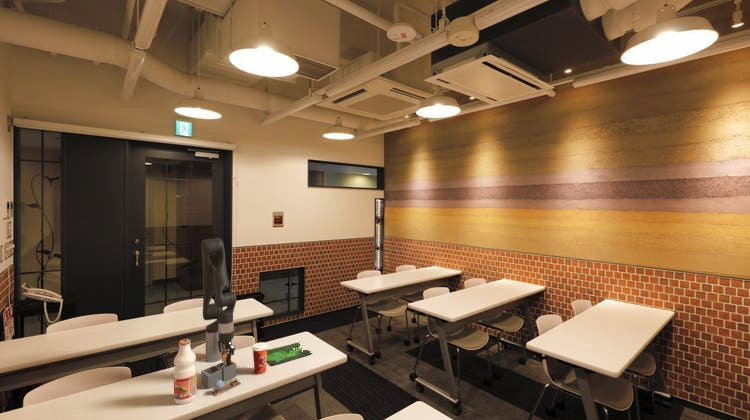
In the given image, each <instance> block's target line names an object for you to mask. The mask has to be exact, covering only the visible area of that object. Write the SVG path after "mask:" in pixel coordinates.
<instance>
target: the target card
mask: <svg viewBox="0 0 750 420" xmlns="http://www.w3.org/2000/svg"><path fill="white" fill-rule="evenodd" d="M233 380H237V381H239V379H238V378H236V377H233V378H231V379H229V380H227V381H225V382H224V386H223V387H225V386H227V385H229V384H230V382H231V381H233ZM211 389H212V390H215V388H214V387H212V388H211Z"/></svg>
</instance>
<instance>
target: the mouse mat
mask: <svg viewBox="0 0 750 420" xmlns="http://www.w3.org/2000/svg"><path fill="white" fill-rule="evenodd" d="M299 343H300V342H293V343H291V344H287V345H284V346H279V347H274V348H270V349H267V362H266V363H267V364H268V365H269V366H271V367H274V366H277V365H281V364H284V363H288V362H292V361H295V360H298V359H299V360H300V359H302V358H305V357H308V356H312V355H313V354H312V353H313V352H312V353H310V351H311V350H310V351H308V350H303V352H302V350H301V349H302V348H300V349H299V348H298V347H300V344H299ZM293 348H295V350H294V349H293ZM296 348H297V349H296ZM297 350H298V351H297ZM311 354H312V355H311Z"/></svg>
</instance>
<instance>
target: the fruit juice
mask: <svg viewBox="0 0 750 420" xmlns="http://www.w3.org/2000/svg"><path fill="white" fill-rule="evenodd" d="M191 341H192V340H191V339H190V338H185V339H181V340H179V342H178V346H179V349H178V352H177V354H176V355H175V357H174V358H173V359H174V360H173V365H174V370H173V401H174V403H175V404H176V405H185V404H188V403H190V402H192V401H194V400H195V399H196V398H197V394H198V393H197V392H198V389H197V382H198V381H197V366H196V360H197V356H196V353H195V352H194V351H193V350H192V348H191V344H192V342H191Z"/></svg>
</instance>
